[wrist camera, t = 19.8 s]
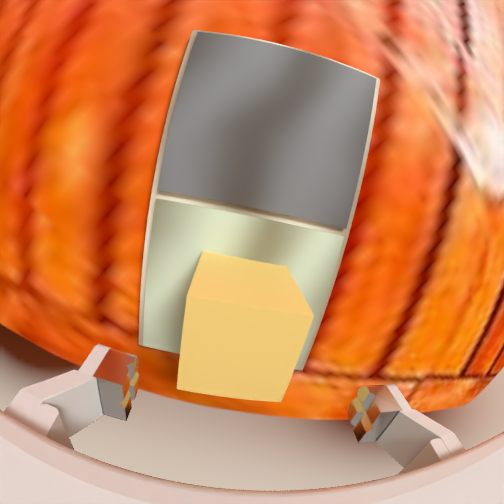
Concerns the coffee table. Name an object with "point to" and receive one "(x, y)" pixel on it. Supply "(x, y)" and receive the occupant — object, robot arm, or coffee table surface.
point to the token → (241, 329)
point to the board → (254, 172)
